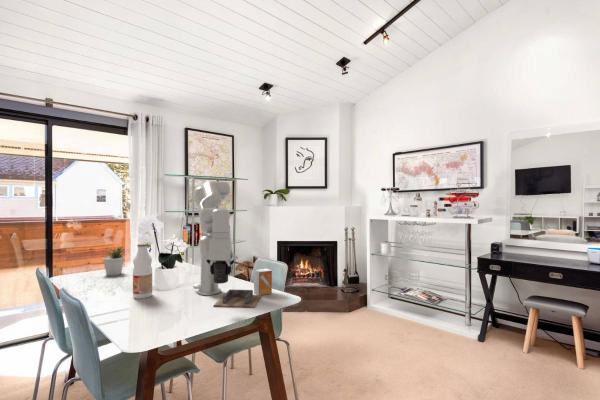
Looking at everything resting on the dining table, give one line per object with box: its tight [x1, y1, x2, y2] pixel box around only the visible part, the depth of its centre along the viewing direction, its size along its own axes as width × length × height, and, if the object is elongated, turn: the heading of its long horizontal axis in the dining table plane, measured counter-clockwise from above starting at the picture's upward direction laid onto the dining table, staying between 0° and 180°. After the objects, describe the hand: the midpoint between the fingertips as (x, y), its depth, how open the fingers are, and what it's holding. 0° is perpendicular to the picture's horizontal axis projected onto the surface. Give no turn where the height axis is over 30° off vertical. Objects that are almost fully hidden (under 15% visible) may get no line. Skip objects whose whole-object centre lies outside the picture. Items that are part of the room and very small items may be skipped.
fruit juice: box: [132, 243, 153, 299], centre depth 183 cm, size 9×9×28 cm
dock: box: [212, 289, 262, 309], centre depth 175 cm, size 20×18×4 cm
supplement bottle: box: [213, 261, 229, 285], centre depth 159 cm, size 7×7×12 cm
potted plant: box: [102, 244, 127, 277], centre depth 233 cm, size 13×14×20 cm
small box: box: [253, 268, 273, 296], centre depth 189 cm, size 8×6×13 cm
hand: (220, 273), depth 159 cm, fingers closed on supplement bottle, 6 cm apart
